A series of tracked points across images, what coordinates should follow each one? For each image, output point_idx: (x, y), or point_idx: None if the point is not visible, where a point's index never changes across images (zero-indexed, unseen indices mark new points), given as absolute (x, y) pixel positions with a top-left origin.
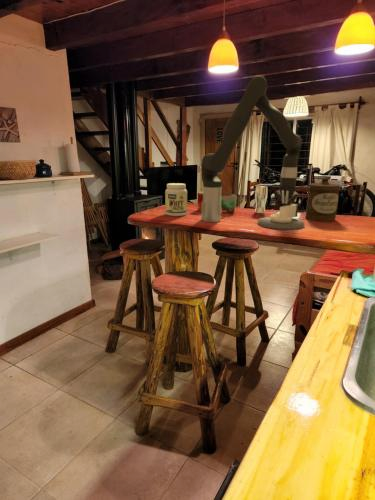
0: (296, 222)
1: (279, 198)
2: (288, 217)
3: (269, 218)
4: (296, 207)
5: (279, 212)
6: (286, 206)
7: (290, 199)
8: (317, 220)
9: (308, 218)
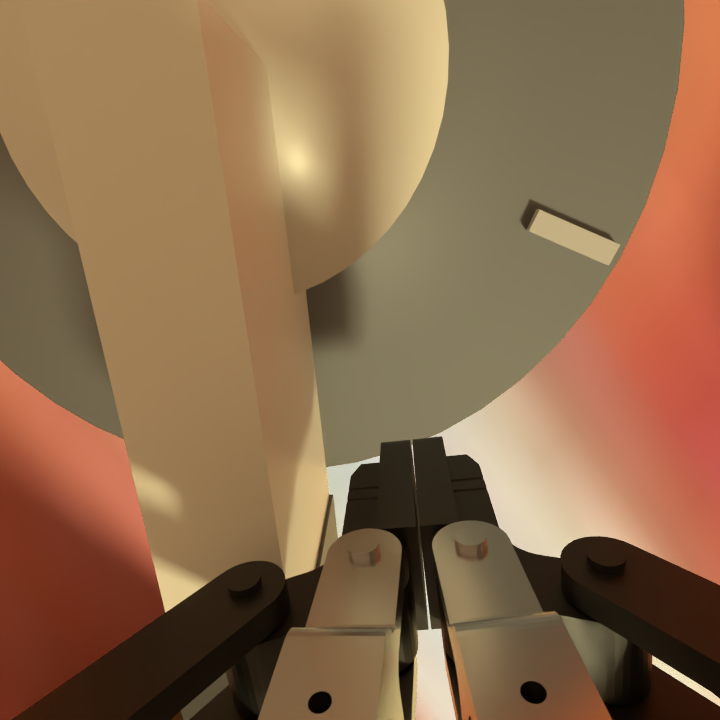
0: (43, 251)
1: (685, 620)
2: (7, 58)
3: (540, 135)
4: None
5: (244, 44)
6: (140, 262)
7: (191, 664)
8: None
9: None
